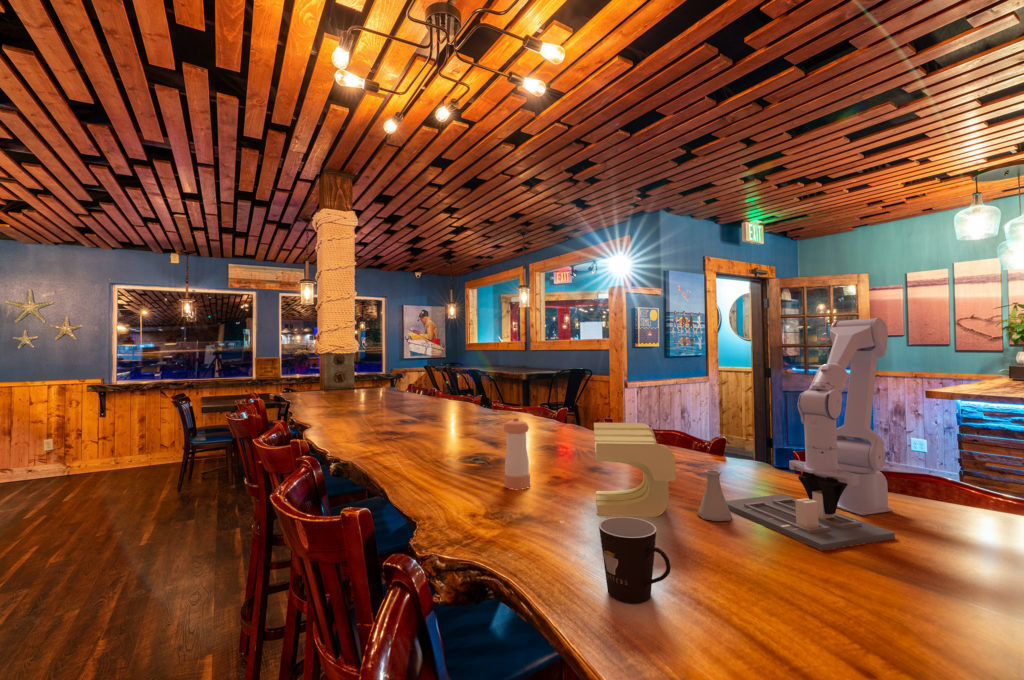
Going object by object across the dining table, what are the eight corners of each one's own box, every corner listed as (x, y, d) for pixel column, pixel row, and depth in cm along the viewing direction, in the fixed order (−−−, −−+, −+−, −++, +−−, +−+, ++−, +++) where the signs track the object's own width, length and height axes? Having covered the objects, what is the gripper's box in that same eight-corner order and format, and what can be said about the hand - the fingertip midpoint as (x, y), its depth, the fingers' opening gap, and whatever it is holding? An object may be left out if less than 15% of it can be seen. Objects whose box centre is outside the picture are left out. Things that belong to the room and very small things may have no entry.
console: (782, 499, 114) (782, 491, 114) (895, 538, 88) (894, 529, 89) (721, 506, 109) (721, 499, 109) (822, 551, 84) (821, 541, 84)
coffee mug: (594, 580, 74) (592, 518, 75) (645, 577, 75) (644, 515, 75) (616, 622, 63) (614, 547, 63) (677, 618, 63) (675, 544, 64)
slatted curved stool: (677, 531, 94) (674, 444, 95) (598, 528, 97) (596, 443, 97) (655, 489, 124) (653, 422, 124) (595, 487, 126) (593, 422, 127)
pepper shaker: (530, 490, 125) (529, 419, 126) (503, 490, 125) (502, 419, 126) (529, 482, 132) (528, 415, 133) (504, 483, 132) (503, 416, 133)
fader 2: (824, 513, 99) (823, 489, 99) (834, 517, 97) (833, 492, 97) (813, 515, 98) (812, 490, 98) (823, 518, 96) (822, 494, 96)
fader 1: (807, 522, 94) (806, 497, 94) (818, 527, 91) (817, 501, 92) (796, 524, 93) (795, 499, 93) (806, 528, 91) (805, 502, 91)
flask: (736, 523, 98) (734, 476, 98) (700, 521, 99) (698, 475, 100) (727, 512, 105) (726, 468, 105) (694, 510, 107) (692, 467, 107)
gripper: (777, 442, 104) (779, 502, 103) (839, 455, 90) (842, 525, 89) (802, 440, 106) (804, 499, 105) (866, 452, 92) (869, 521, 91)
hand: (823, 511), depth 97 cm, fingers closed on fader 2, 2 cm apart
